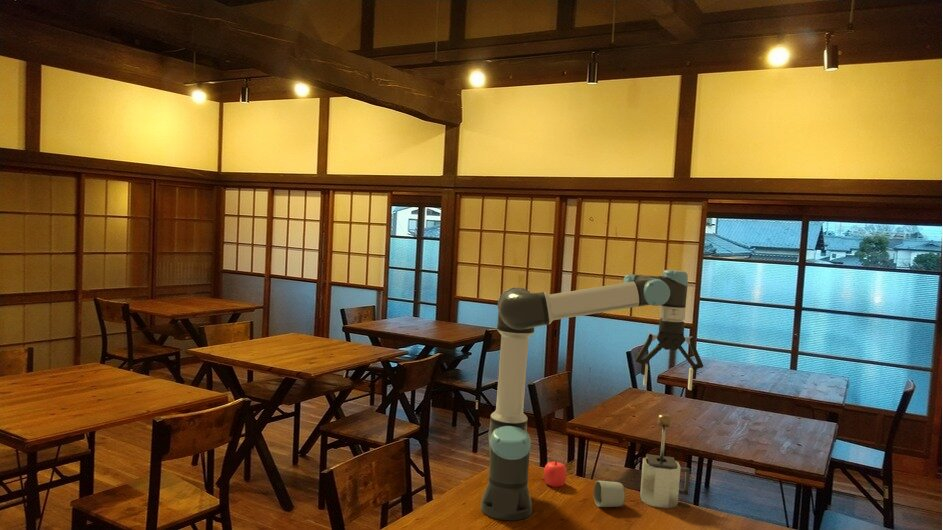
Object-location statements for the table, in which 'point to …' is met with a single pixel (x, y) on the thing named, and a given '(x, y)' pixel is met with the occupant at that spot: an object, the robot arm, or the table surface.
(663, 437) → the plunger
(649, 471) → the carafe
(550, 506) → the table surface
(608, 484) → the ceramic mug
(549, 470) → the apple
